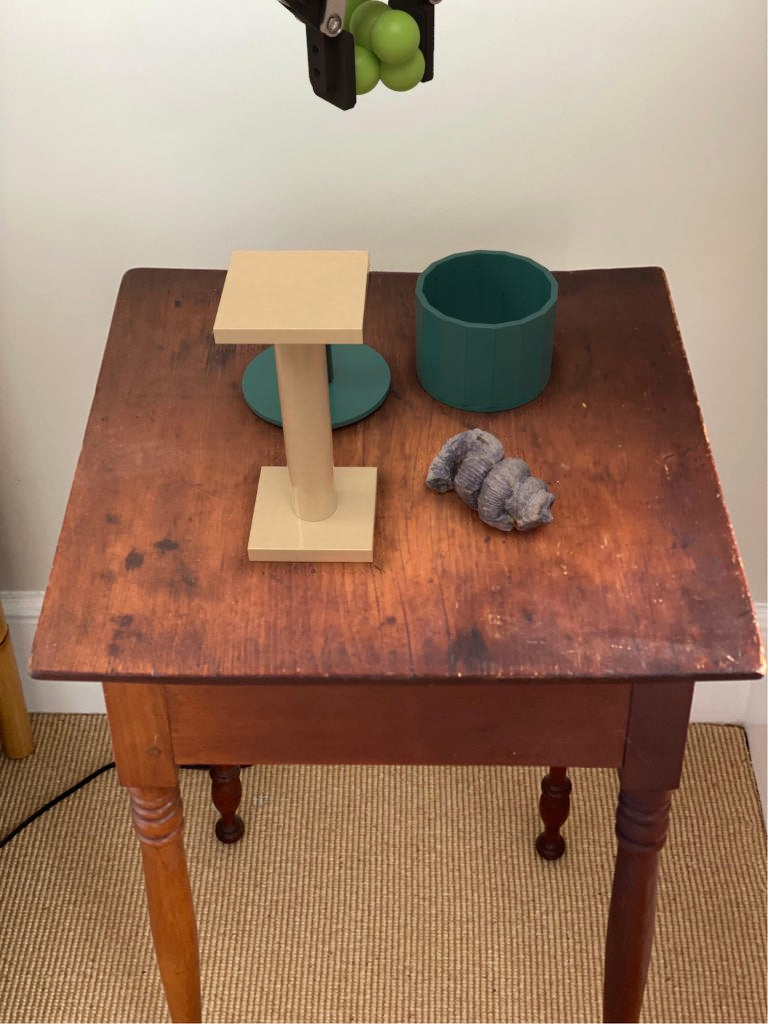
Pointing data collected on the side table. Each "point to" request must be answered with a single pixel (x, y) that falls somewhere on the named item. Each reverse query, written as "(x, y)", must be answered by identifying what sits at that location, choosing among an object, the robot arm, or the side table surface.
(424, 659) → the side table surface
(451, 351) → the pot
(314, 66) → the robot arm
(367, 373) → the lid
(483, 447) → the seashell
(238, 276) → the pedestal
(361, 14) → the grapes
